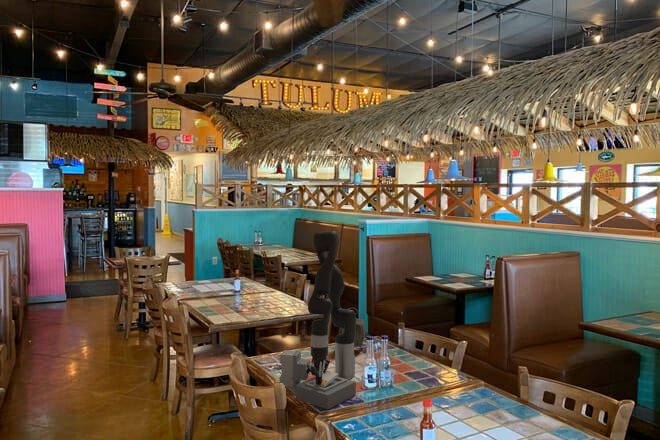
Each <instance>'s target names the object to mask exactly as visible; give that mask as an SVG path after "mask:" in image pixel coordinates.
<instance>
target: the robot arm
mask: <svg viewBox="0 0 660 440" xmlns="http://www.w3.org/2000/svg"><path fill="white" fill-rule="evenodd" d="M312 239H313V246H314V250H315V253H316V256H317V259H318V262H319V265H320V267H319V268H318V269H317V271H316V274H315V278H314V287H313V290H312V294H311V296H310V297H309V299H308V303H307V311H308V313H309V314H310V315H315V316H316V315H317V316H318V315H319V316H322V315H323V316H322V318H319V319H314V320H313V321H312V322H311V336H310V356H311V357H312V358H311V363H310V365H308V369H309V370H310V375H312V376H314V377H316V385H321V383H322V376H323V374H324V373H326V371H328V367H329V365H330V363H331V360H329V359H328V358H327V357H328V355H329V321H330V318H331V322H332V325H333V326H334V327H335V328H339V327H340V328H345V329H344V333H342V334H339V333H338V334H337V335H335V339H334V341H335V343H334V344H335V345H334V349H335V351H334V352H335V353H334V359H335V360H334V373H338V377H340V378H344V379H348V380H352V379H354V377H355V374H356V356H355V346H354V337H355V326H356V319H357V314H356V313H355V311H354V309H348V308H347V309H346V308H342V306H341V303H340V302H341V301H340V300H341V298H342V297H341V296H342V295H343V292H344V290H345V285H346V284H345V281H344V280H345V279H344V276H343V275H344V274H343V272H342V271H341V269H340V268H339V267H338V266H337V265H336V264H335V262H336V258H337V255H338V250H339V245H340V244H339V243H340V239H339V234H338V233H337V232H336V231H335V230H330V231H329V230H328V231H318V232H314V235H313V237H312ZM327 252H328V253H327ZM325 295H326V296H327V297H328V298H321V297H323V296H325ZM355 314H356V315H355Z"/></svg>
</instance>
